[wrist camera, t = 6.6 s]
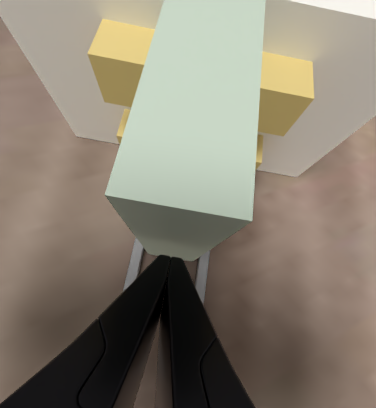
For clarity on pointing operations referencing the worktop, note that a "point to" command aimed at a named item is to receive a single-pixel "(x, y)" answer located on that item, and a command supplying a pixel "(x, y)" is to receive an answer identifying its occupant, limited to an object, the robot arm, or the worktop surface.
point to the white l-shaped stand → (269, 88)
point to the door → (193, 129)
